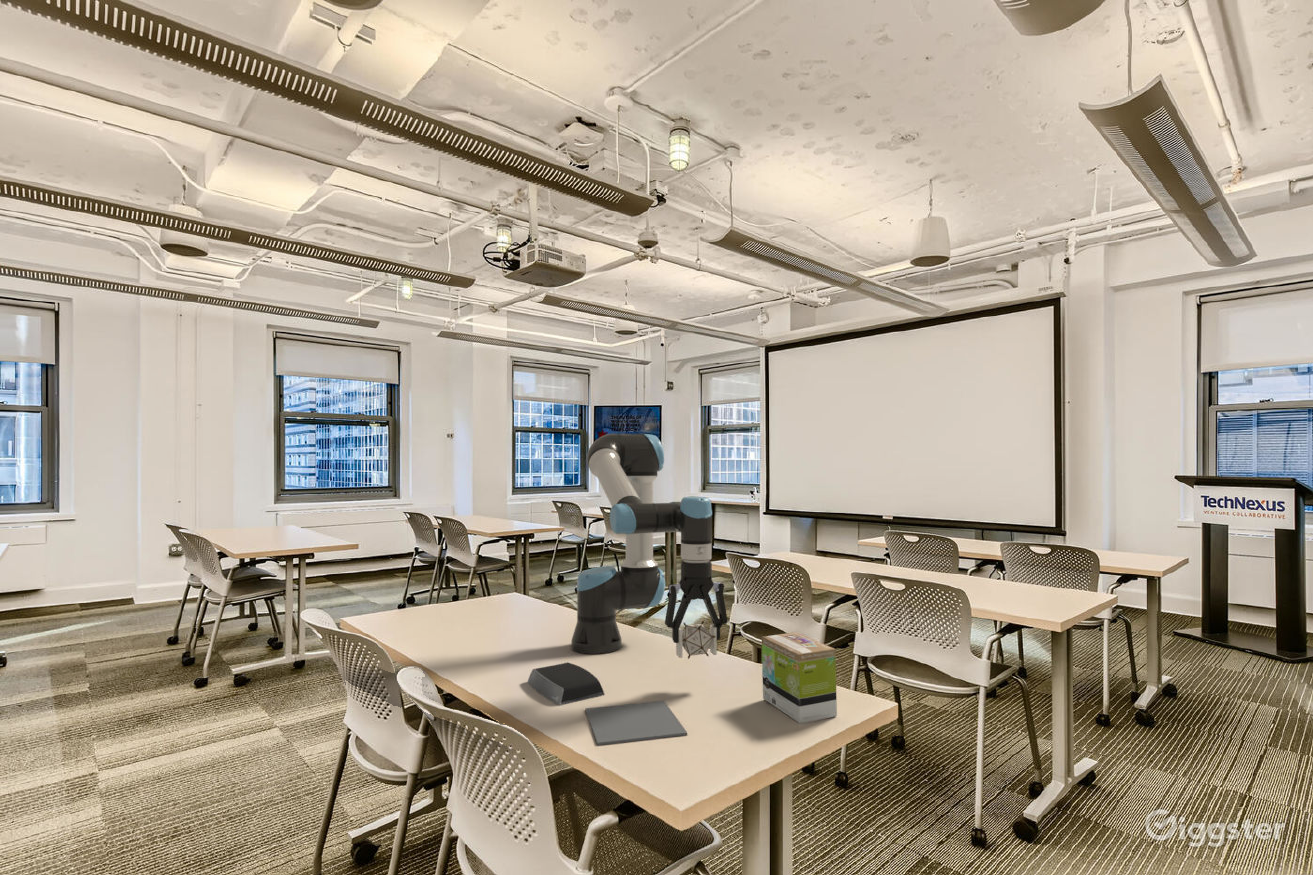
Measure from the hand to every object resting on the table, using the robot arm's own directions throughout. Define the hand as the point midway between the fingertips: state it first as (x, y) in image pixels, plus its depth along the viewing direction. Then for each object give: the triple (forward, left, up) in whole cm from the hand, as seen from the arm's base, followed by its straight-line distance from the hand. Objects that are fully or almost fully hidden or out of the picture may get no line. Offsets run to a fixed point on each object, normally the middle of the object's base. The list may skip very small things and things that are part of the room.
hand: (696, 654), depth 149 cm
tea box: (+17, +18, -9) cm, 27 cm away
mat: (+15, -19, -8) cm, 26 cm away
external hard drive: (-9, -31, -9) cm, 33 cm away
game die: (0, 0, -1) cm, 1 cm away
